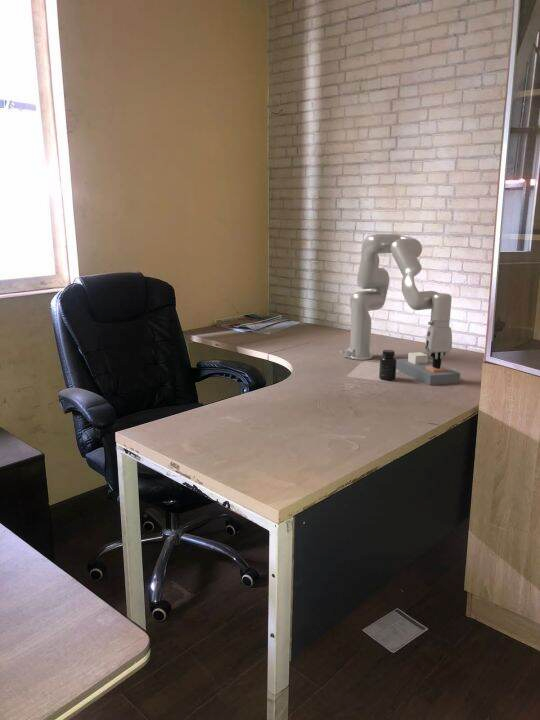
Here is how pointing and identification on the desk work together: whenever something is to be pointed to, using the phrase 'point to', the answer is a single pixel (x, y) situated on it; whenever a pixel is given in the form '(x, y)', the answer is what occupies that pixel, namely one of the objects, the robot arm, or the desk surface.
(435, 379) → the key panel
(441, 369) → the terracotta key
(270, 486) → the desk surface
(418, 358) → the off-white key
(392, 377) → the supplement bottle
